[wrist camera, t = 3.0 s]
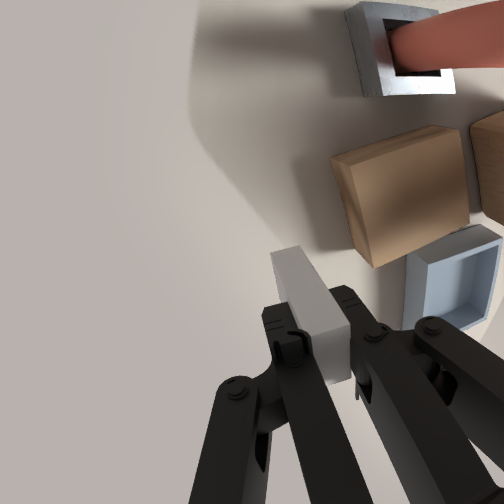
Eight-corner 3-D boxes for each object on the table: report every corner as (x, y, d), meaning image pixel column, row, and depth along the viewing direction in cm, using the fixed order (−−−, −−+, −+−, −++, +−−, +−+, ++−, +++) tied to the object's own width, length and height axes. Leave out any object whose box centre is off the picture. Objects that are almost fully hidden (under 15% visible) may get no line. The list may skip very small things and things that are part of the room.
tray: (406, 247, 26) (428, 264, 23) (480, 224, 26) (503, 237, 23) (401, 331, 30) (417, 352, 27) (469, 302, 30) (486, 319, 27)
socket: (344, 12, 17) (360, 1, 14) (417, 17, 17) (437, 10, 14) (363, 96, 20) (383, 95, 17) (433, 93, 20) (455, 93, 17)
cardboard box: (328, 157, 22) (349, 166, 19) (429, 125, 22) (459, 129, 18) (353, 247, 26) (373, 269, 22) (442, 208, 25) (469, 223, 21)
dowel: (368, 31, 18) (506, -12, 5) (406, 33, 18) (542, 7, 5) (378, 74, 19) (526, 64, 7) (414, 73, 19) (558, 74, 7)
